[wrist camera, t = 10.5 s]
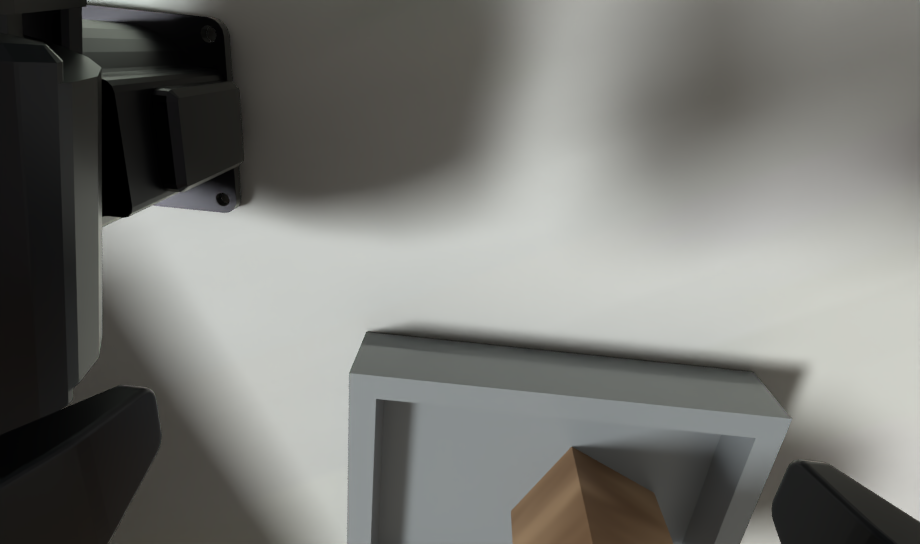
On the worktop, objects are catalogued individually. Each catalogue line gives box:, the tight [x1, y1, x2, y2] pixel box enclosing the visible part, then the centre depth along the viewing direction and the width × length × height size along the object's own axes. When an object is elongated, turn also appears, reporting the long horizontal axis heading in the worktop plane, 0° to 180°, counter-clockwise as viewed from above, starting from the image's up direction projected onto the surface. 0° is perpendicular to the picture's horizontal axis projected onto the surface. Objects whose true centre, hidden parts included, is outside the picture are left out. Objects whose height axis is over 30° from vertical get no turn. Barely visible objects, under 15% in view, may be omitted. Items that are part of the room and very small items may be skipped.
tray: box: [347, 332, 792, 544], centre depth 23 cm, size 16×14×3 cm
